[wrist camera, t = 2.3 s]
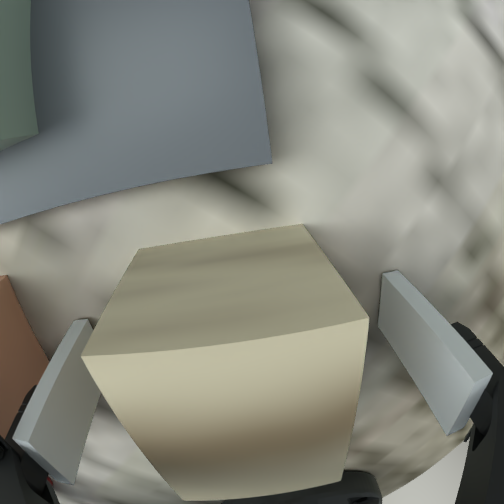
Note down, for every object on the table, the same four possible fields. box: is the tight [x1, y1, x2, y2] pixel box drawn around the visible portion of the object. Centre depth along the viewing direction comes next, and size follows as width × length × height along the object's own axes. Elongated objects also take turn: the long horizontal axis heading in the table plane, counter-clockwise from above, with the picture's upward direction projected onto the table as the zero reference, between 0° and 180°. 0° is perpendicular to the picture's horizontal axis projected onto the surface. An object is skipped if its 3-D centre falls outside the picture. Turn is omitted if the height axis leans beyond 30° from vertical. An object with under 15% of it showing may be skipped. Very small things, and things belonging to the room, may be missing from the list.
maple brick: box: [81, 224, 369, 501], centre depth 10 cm, size 8×6×6 cm
